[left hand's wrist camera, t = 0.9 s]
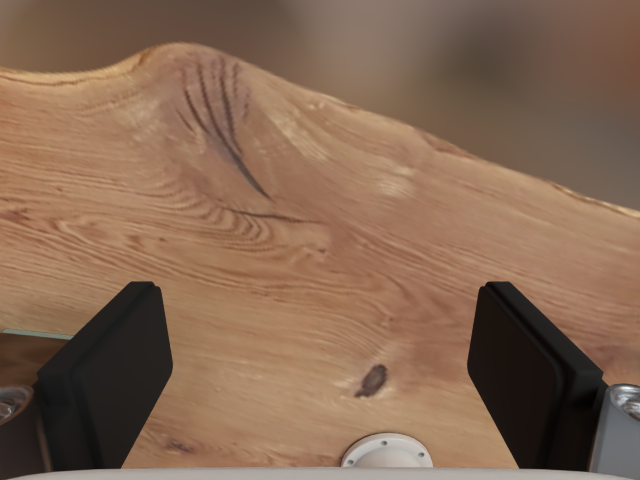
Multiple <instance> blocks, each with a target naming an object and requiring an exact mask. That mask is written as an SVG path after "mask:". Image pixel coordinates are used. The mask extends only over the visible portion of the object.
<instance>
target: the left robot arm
mask: <svg viewBox="0 0 640 480" xmlns="http://www.w3.org/2000/svg"><path fill="white" fill-rule="evenodd" d="M172 369H173V361H172V355H171V349H170V343H169V336H168V330H167V324H166V318H165V311H164V305H163V299H162V293H161V289H160V287H158V286H155V285H154V283H153V282H130V283H129V284H128V285H127V286H126V287H125V288H123V289H122V290H121V291H120V292H119V293H118V294H117V295H116V296H115V297H114V298H113V299H112V300H111V301H110V302H109V303H108V304H107V305H106V306H105V307H104V308H103V309H102V310H101V311H100V312H99V313H98V314H96V315H95V316H94V317H93V318H92V319H91V320H90V321H89V322H88V323H87V324H86V325H85V326H84V327H83V328H82V329H81V330H80V331H79V332H78V333H77V334H76V335H75V336H74V337H73V338H72V339H71V340H69V341H68V342H67V343H66V344H65V345H64V346H63V347H62V348H61V349H60V350H59V351H58V352H57V353H56V354H55V355H54V356H53V357H52V358H51V359H50V360H49V361H48V362H47V363H46V364H45V365H43V366H42V367H41V368H40V369H39V370H38V371H37V372H36V373H37V376H38V380H37V381H36V382H35V383H34V384H33V385H32V386H28V385H26V384H9V385H3V386H0V480H640V386H637V385H631V384H614V385H612V386H608V385H607V384H606V383H605V382H604V381H603V380H602V376H603V373H604V372H603V371H602V370H601V369H600V368H599V367H598V366H597V365H595V364H594V363H593V362H592V361H591V360H590V359H589V358H588V357H587V356H586V355H585V354H584V353H583V352H582V351H581V350H580V349H579V348H578V347H577V346H576V345H575V344H574V343H573V342H572V341H571V340H569V339H568V338H567V337H566V336H565V335H564V334H563V333H562V332H561V331H560V330H559V329H558V328H557V327H556V326H555V325H554V324H553V323H552V322H551V321H550V320H549V319H548V318H547V317H546V316H545V315H544V314H542V313H541V312H540V311H539V310H538V309H537V308H536V307H535V306H534V305H533V304H532V303H531V302H530V301H529V300H528V299H527V298H526V297H525V296H524V295H523V294H522V293H521V292H520V291H519V290H518V289H517V288H515V287H514V286H513V285H512V284H511V283H510V282H487V283H486V285H485V286H482V287H480V289H479V293H478V299H477V305H476V311H475V318H474V324H473V330H472V336H471V343H470V349H469V355H468V361H467V369H468V373H469V376H470V378H471V380H472V382H473V383H474V385H475V387H476V389H477V391H478V393H479V395H480V396H481V398H482V400H483V402H484V404H485V406H486V408H487V409H488V411H489V413H490V415H491V417H492V419H493V420H494V422H495V424H496V426H497V428H498V430H499V432H500V433H501V435H502V437H503V439H504V441H505V443H506V445H507V446H508V448H509V450H510V452H511V454H512V456H513V458H514V459H515V461H516V463H517V465H518V467H519V469H498V468H449V467H433V465H432V460H431V457H430V455H429V452H428V451H427V449H426V448H425V447H424V446H423V445H422V444H421V443H420V442H418V441H417V440H415V439H414V438H411V437H409V436H406V435H402V434H398V433H380V434H375V435H371V436H368V437H366V438H363V439H361V440H360V441H358V442H356V443H355V444H354V445H353V446H351V447H350V448H349V449H348V451H347V452H346V453H345V455H344V457H343V459H342V463H341V467H191V468H142V469H121V467H122V465H123V463H124V461H125V459H126V458H127V456H128V454H129V452H130V450H131V448H132V446H133V445H134V443H135V441H136V439H137V437H138V435H139V433H140V432H141V430H142V428H143V426H144V424H145V422H146V420H147V419H148V417H149V415H150V413H151V411H152V409H153V408H154V406H155V404H156V402H157V400H158V398H159V396H160V395H161V393H162V391H163V389H164V387H165V385H166V383H167V382H168V380H169V378H170V376H171V373H172Z"/></svg>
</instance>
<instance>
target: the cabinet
mask: <svg viewBox="0 0 640 480" xmlns="http://www.w3.org/2000/svg"><path fill="white" fill-rule="evenodd" d="M73 337H74V336H72V335H62V334H53V333H43V332H34V331H24V330H15V329H6V330H4V331H3V332H2V333H1V334H0V386H3V385H9V384H26V385H28V386H32V385H33V384H34V383H35V382H36V381H37V380H38V376H37V373H36V372H37V371H38V370H39V369H40V368H41V367H42V366H43V365H45V364H46V363H47V362H48V361H49V360H50V359H51V358H52V357H53V356H54V355H55V354H56V353H57V352H58V351H59V350H60V349H61V348H62V347H63V346H64V345H65V344H66V343H67V342H68V341H69V340H71V339H72V338H73Z"/></svg>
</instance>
